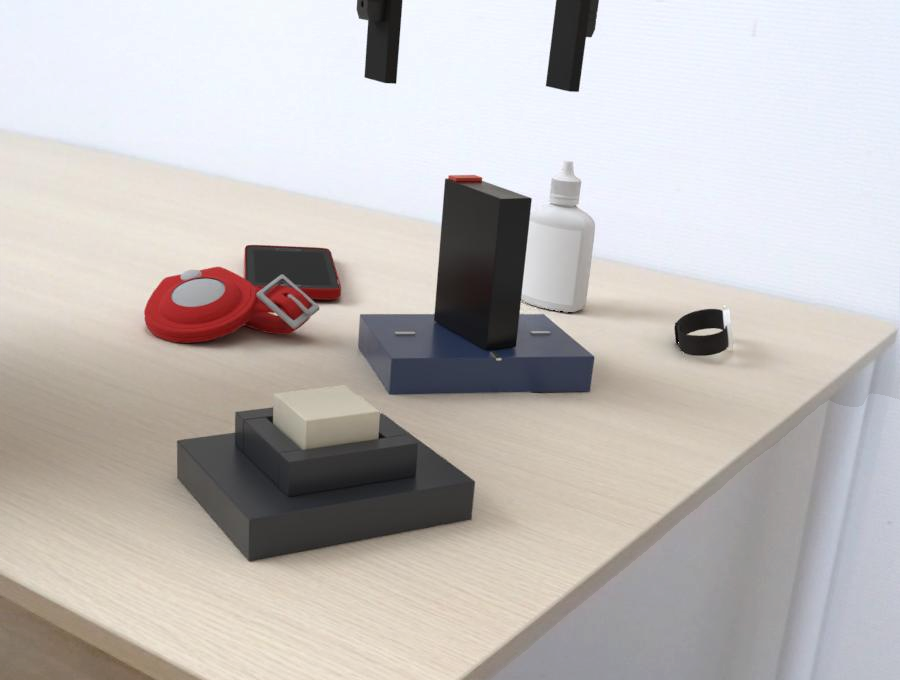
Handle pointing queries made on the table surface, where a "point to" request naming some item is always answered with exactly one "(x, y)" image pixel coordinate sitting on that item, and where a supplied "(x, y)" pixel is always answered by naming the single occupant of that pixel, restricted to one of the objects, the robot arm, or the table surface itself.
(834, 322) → the table surface
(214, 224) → the table surface
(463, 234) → the black upright rectangular block
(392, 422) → the stepped push button
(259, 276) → the cell phone
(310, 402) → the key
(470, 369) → the navy base plate
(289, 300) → the tracker holder
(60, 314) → the table surface
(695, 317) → the watch
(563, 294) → the eye dropper bottle
